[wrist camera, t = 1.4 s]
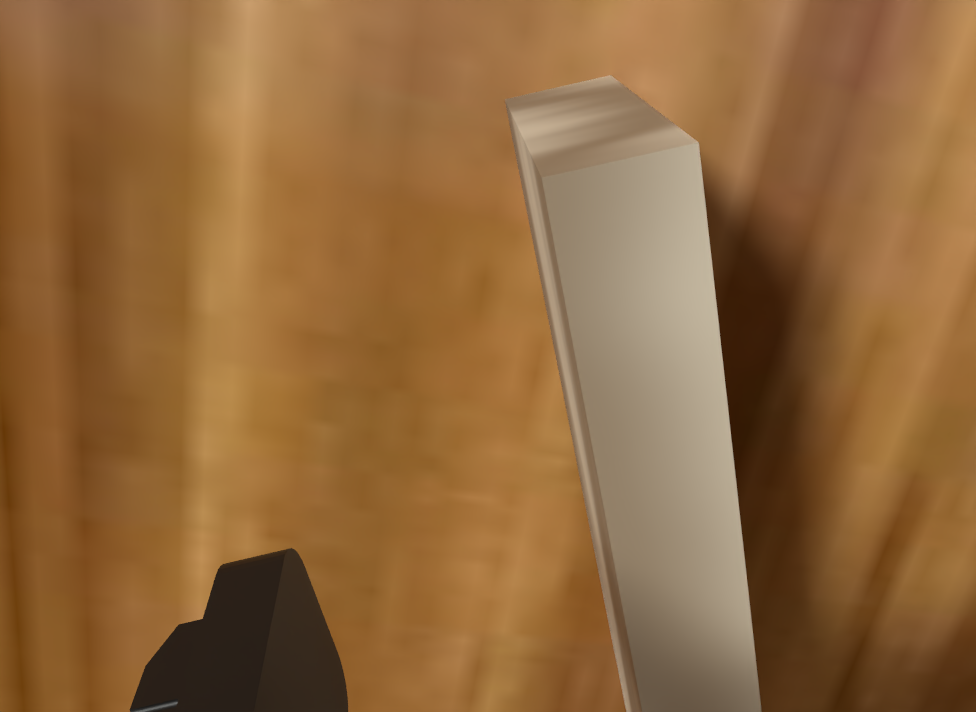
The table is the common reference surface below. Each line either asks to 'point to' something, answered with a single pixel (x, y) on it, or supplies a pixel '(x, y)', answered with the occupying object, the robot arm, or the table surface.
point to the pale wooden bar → (642, 386)
